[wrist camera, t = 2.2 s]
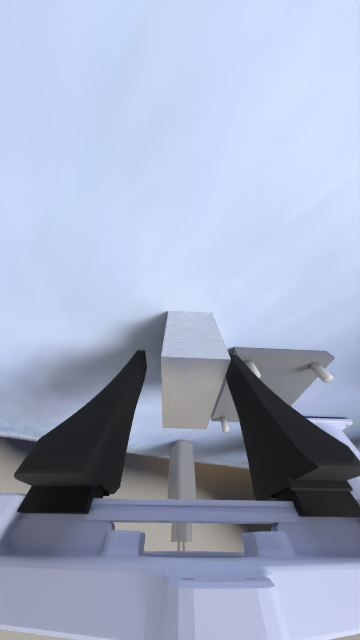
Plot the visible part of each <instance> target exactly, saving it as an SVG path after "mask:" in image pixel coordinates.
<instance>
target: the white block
mask: <svg viewBox="0 0 360 640" xmlns="http://www.w3.org/2000/svg"><path fill="white" fill-rule="evenodd" d="M230 361H231V358H230V356H229V353H228V351H227V348H226V346H225V344H224V341H223V339H222V336H221V334H220V332H219V329H218V327H217V324H216V322H215V319H214V317H213V315H212V313H203V312H183V311H168V316H167V322H166V329H165V335H164V341H163V347H162V353H161V379H162V419H163V428H187V429H206V428H207V425H208V423H209V420H210V417H211V414H212V411H213V409H214V406H215V403H216V400H217V397H218V395H219V392H220V389H221V386H222V383H223V381H224V378H225V375H226V372H227V369H228V367H229V364H230Z"/></svg>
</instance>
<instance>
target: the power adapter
mask: <svg viewBox="0 0 360 640" xmlns="http://www.w3.org/2000/svg"><path fill="white" fill-rule="evenodd" d="M169 462H170V463H169V481H168V499H173V500H196V489H195V472H194V454H193V442H191V441H185V440H178V441H176V442H175V444H174V445H173V446H172V447H171V448H170V461H169ZM171 531H172V532H171V542H178V551H180V542H183V551H185V542H192V527H191V523H172V529H171Z"/></svg>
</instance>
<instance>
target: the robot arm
mask: <svg viewBox="0 0 360 640" xmlns="http://www.w3.org/2000/svg"><path fill="white" fill-rule="evenodd" d="M229 356H230V358H231V361H230V364H229V367H228V369H227V372H226V375H225V376H226V381H227V384H228V387H229V390H230V393H231V396H232V399H233V402H234V405H235V408H236V411H237V414H238V417H239V422H240V426H241V430H242V434H243V438H244V443H245V448H246V453H247V457H248V462H249V468H250V474H251V479H252V485H253V491H254V495H255V498H256V501H239V500H173V499H105V498H103V496H109V495H110V494H114V493H115V492H116V491H117V490H118V489H119V487H120V482H121V478H122V472H123V466H124V460H125V456H126V451H127V445H128V440H129V435H130V431H131V426H132V421H133V417H134V412H135V409H136V405H137V402H138V399H139V395H140V392H141V389H142V386H143V382H144V379H145V374H146V369H147V364H146V354H145V351H143V350H138V351H136V353H135V354H134V355H133V357H132V358H131V359H130V361H129V362H128V363H127V364H126V366H125V367H124V368H123V369H122V370H121V371H120V373H119V374H118V375H117V376H116V377H115V378H114V379H113V380H112V381H111V382H110V383H109V384H108V385H107V386H106V387H105V388H104V389H103V390H102V391H101V392H100V393H99V394H98V395H96V396H95V397H94V398H93V399H92V400H91V401H90V402H88V403H87V404H86V405H85V406H84V407H82V408H81V409H80V410H78V411H77V412H76V413H75V414H73V415H72V416H71V417H69V418H68V419H67V420H65V421H64V422H63V423H61V424H60V425H58V426H57V427H56V428H54V429H53V430H51V431H50V432H48V433H47V434H46V435H44V436H43V437H41V438H40V439H39V440H38V441H37V443H36V444H35V445H34V447H33V448H32V449H31V451H30V452H29V454H28V455H27V457H26V458H25V459H24V461H23V462H22V464H21V465H20V467H19V468H18V470H17V471H16V472H15V474H14V477H15V478H16V479H17V480H19V481H22V482H24V483H27V484H29V485H31V486H32V487H31V488H30V490H29V492H28V493H27V494H19V493H0V629H4V630H10V631H18V632H25V633H32V634H39V635H46V636H53V637H61V638H68V639H75V640H329V639H334V638H339V637H344V636H349V635H354V634H359V633H360V452H359V451H358V450H357V448H356V447H355V446H354V445H353V444H352V442H351V441H350V440H349V439H348V438H347V436H346V435H345V434H344V433H343V432H342V430H343V429H345V428H346V427H348V426H349V425H351V424H352V423H353V422H352V421H351V420H350V419H330V418H305V417H304V416H303V415H301V414H300V413H299V412H297V411H296V410H295V409H293V408H292V407H291V406H289V405H288V404H287V403H286V402H284V401H283V400H282V399H281V398H280V397H279V396H277V395H276V394H275V393H274V392H273V391H272V390H271V389H270V388H268V387H267V386H266V385H265V384H264V383H263V382H262V381H261V380H260V379H259V378H258V377H257V376H256V375H255V374H254V373H253V372H252V371H251V369H250V368H249V367H248V366H247V365H246V364H245V363H244V362H243V361H242V360H241V359H240V357H239V356H238V355H236V354H230V355H229ZM112 522H142V523H144V522H145V523H152V522H153V523H237V524H244V523H245V524H273V525H272V531H271V532H253V533H243V534H242V539H243V543H244V548H245V552H205V551H203V552H202V551H159V552H158V551H154V552H153V551H150V552H149V551H147V552H146V551H145V552H144V542H145V533H143V532H140V531H125V530H124V531H123V530H115V526H114V523H112Z"/></svg>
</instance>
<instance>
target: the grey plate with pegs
mask: <svg viewBox="0 0 360 640" xmlns="http://www.w3.org/2000/svg"><path fill="white" fill-rule="evenodd" d="M232 354H236V355H238V356H239V357H240V359H241V360H242V361H243V362H244V363H245V364H246V365H247V366H248V367H249V368H250V369H251V371H252V372H253V373H254V374H255V375H256V376H257V377H258V378H259V379H260V380H261V381H262V382H263V383H264V384H265V385H266V386H267V387H268V388H270V389H271V390H272V391H273V392H274V393H275V394H276V395H277V396H279V397H280V398H281V399H282V400H283V401H284V402H286V403H287V404H288V405H289V406H291V405H292V404H293V403H294V402H295V401H296V400H297V399H298V398H299V396H300V395H301V394H302V393H303V392H304V391H305V390H306V389H307V388H308V387H309V386H310V384H311V383H312V382H313V381H314V380H315V379H316V378H317V377H319V378H320V379H321V380H322V381H323V382H330V381H332V380H333V379H334V377H333V376H332V375H330V374H329V373H328V372H327V371H326V370H325V368H326V367H327V366H328V365H329V364H330V363H331V362H332V360H333V359H334V358H335V357H333V356H332V355H331V354H330V353H328V352H327V351H306V350H284V349H261V348H239V347H234V349H233V352H232ZM211 421H221V425H222V430H223V432H225V433H226V432H229V427H228V423H227V422H239V417H238V414H237V411H236V408H235V405H234V402H233V399H232V396H231V393H230V390H229V387H228V384H227V381H226V376H225V378H224V381H223V383H222V386H221V389H220V392H219V395H218V397H217V400H216V403H215V406H214V409H213V411H212V414H211Z"/></svg>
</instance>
